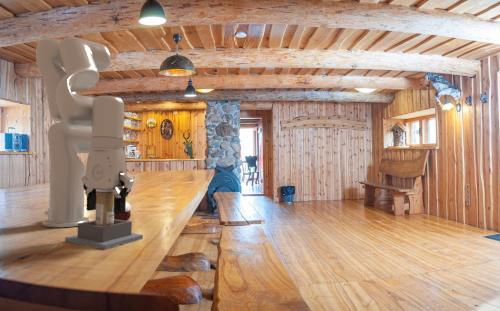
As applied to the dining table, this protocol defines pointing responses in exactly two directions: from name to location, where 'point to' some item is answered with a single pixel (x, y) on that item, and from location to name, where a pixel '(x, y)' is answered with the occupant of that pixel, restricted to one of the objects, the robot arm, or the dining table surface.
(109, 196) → the sprinkles bottle
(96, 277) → the dining table surface
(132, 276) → the dining table surface
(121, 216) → the cocoa
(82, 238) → the bottle stand
